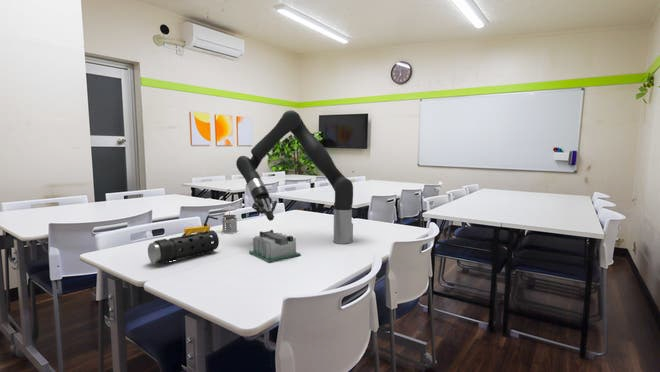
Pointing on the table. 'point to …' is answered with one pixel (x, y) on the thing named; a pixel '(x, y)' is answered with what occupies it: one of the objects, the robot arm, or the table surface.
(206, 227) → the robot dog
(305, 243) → the table surface
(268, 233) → the grey lever
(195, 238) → the muzzle brake
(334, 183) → the robot arm
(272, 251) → the board
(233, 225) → the french press
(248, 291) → the table surface
